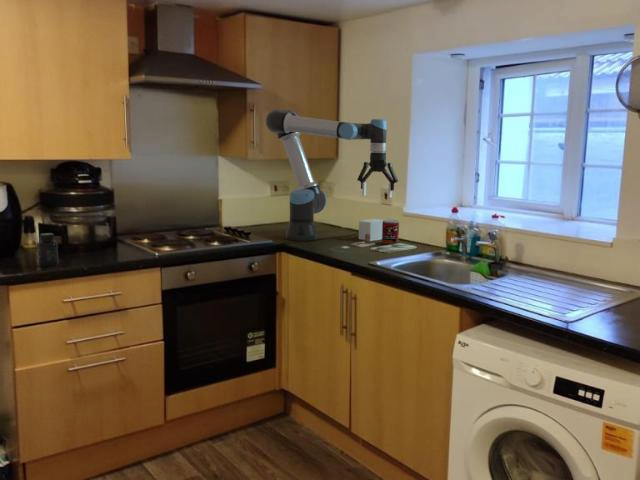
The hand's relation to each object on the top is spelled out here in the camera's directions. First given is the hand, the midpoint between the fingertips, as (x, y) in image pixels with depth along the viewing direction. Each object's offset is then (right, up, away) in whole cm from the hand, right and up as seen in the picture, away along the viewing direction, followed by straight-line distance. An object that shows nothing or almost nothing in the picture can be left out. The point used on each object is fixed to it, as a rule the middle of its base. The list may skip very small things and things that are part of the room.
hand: (377, 196), depth 295 cm
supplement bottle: (-130, -31, -64) cm, 148 cm away
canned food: (+6, -23, -6) cm, 24 cm away
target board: (+6, -25, -20) cm, 32 cm away
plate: (-7, -23, -12) cm, 27 cm away
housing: (-2, -20, +6) cm, 21 cm away
